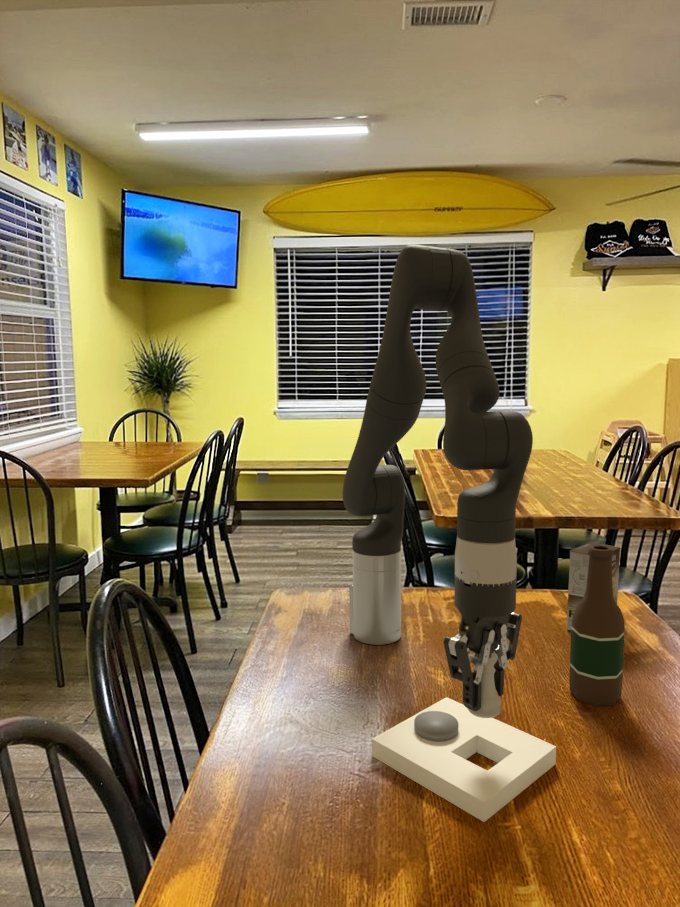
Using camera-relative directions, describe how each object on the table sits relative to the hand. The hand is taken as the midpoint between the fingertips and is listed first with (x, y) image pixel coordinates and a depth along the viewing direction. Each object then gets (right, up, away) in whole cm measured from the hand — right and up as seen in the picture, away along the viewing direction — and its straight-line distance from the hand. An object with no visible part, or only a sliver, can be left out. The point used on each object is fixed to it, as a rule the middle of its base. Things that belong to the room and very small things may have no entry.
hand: (483, 700), depth 85 cm
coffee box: (+31, -3, +46) cm, 56 cm away
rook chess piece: (0, -2, 0) cm, 1 cm away
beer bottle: (+22, -7, +20) cm, 31 cm away
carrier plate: (-2, -9, +4) cm, 10 cm away
